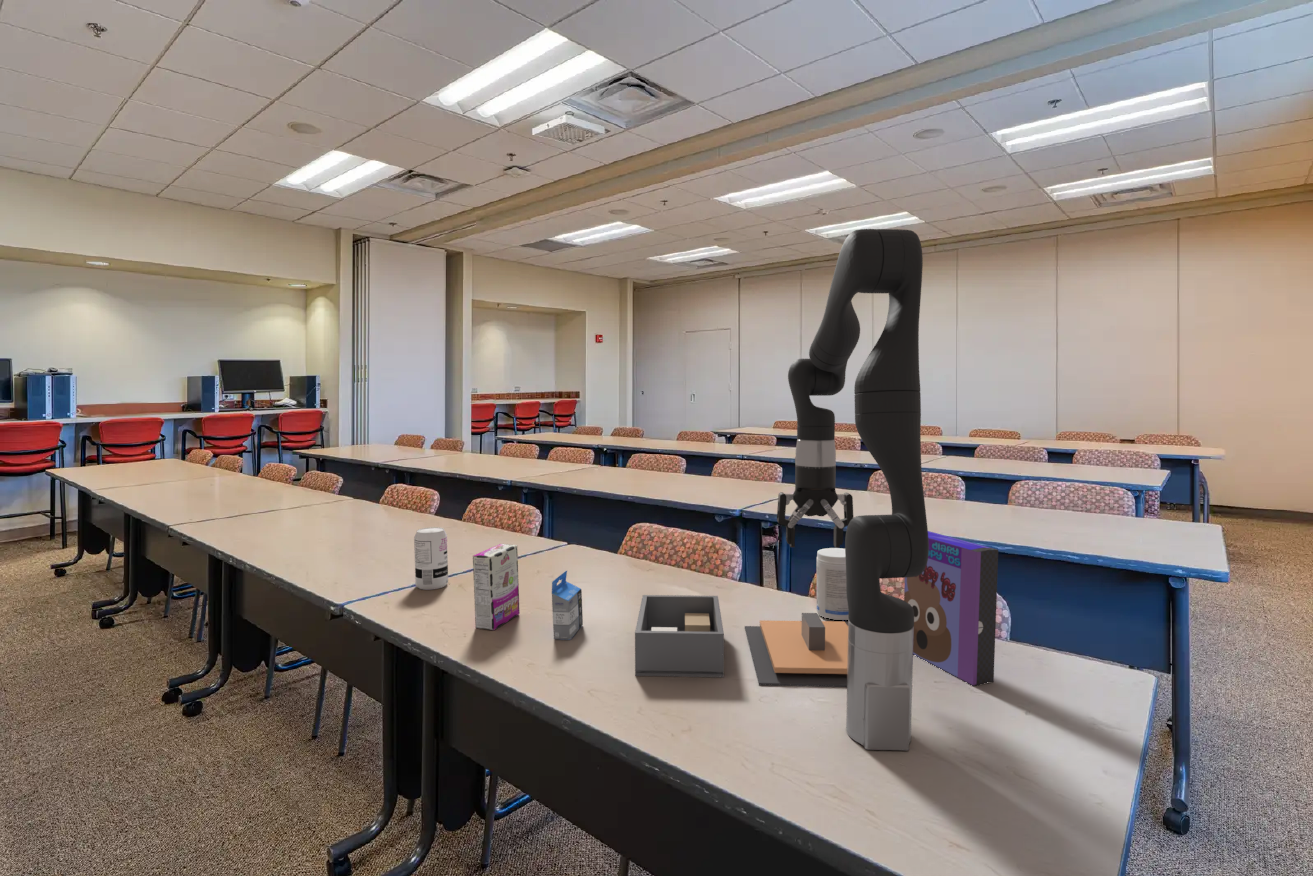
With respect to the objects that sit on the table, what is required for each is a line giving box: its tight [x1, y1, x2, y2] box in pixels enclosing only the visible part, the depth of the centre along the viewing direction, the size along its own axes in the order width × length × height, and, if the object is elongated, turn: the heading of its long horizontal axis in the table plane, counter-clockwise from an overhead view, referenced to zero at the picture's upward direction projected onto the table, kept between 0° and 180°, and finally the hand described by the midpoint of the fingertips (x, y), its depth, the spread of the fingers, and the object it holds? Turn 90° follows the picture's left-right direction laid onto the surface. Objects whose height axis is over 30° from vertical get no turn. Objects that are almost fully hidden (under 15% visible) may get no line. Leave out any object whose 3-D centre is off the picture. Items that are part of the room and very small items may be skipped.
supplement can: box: [413, 526, 449, 591], centre depth 174 cm, size 8×8×15 cm
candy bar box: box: [472, 543, 520, 631], centre depth 147 cm, size 11×5×16 cm, turn 161°
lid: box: [759, 612, 848, 674], centre depth 129 cm, size 18×24×6 cm
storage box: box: [634, 594, 725, 678], centre depth 130 cm, size 16×22×8 cm
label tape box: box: [551, 570, 584, 641], centre depth 141 cm, size 9×4×12 cm, turn 168°
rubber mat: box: [744, 625, 847, 688], centre depth 129 cm, size 28×24×1 cm
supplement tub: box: [816, 547, 848, 621], centre depth 151 cm, size 10×10×15 cm
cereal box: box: [903, 530, 999, 687], centre depth 123 cm, size 17×5×24 cm, turn 21°
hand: (814, 546), depth 128 cm, fingers open, 8 cm apart
